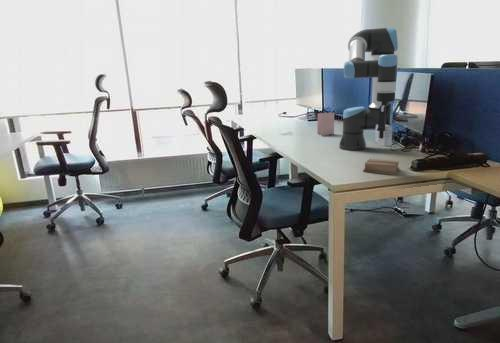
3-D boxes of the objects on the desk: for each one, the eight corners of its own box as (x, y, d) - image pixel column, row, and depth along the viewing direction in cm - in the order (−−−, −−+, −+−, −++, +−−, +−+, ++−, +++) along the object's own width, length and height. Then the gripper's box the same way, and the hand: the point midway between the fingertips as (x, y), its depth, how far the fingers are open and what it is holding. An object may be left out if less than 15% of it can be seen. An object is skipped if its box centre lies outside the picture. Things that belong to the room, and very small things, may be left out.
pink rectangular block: (333, 134, 264) (334, 112, 260) (335, 135, 257) (335, 114, 253) (317, 134, 265) (317, 113, 261) (318, 136, 258) (318, 114, 254)
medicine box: (391, 145, 164) (392, 126, 161) (381, 146, 163) (382, 126, 161) (384, 142, 171) (385, 123, 169) (374, 143, 171) (375, 124, 169)
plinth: (368, 166, 178) (368, 158, 177) (399, 169, 171) (399, 160, 170) (363, 171, 170) (363, 163, 169) (396, 174, 163) (396, 166, 162)
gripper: (381, 90, 172) (378, 138, 178) (372, 93, 154) (369, 147, 160) (398, 90, 168) (395, 139, 174) (391, 93, 150) (387, 148, 156)
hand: (383, 143), depth 167 cm, fingers closed on medicine box, 9 cm apart
